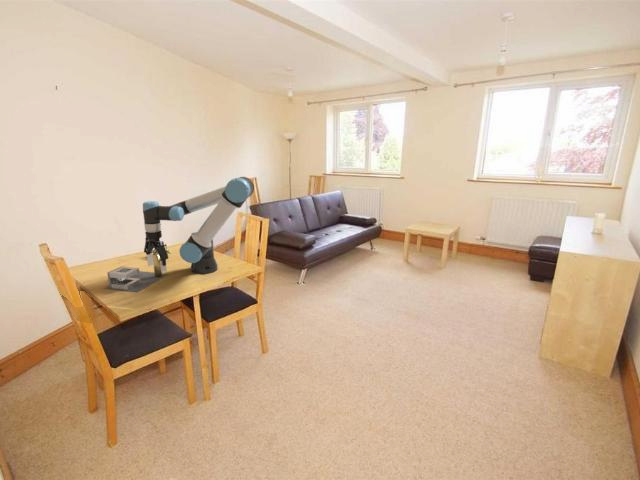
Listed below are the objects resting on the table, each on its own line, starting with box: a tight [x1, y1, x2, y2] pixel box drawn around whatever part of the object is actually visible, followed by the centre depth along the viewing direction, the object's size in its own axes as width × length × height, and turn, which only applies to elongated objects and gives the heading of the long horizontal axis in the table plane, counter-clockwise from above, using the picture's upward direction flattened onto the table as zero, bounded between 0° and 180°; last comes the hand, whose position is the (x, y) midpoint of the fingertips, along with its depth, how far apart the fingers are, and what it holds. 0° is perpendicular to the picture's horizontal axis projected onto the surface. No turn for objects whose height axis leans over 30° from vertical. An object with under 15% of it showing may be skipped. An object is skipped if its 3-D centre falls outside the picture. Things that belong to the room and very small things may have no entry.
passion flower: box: [151, 243, 172, 256], centre depth 204 cm, size 11×11×12 cm
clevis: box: [107, 266, 141, 290], centre depth 157 cm, size 10×9×8 cm
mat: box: [103, 270, 170, 293], centre depth 165 cm, size 19×25×1 cm
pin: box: [151, 253, 162, 278], centre depth 170 cm, size 4×4×13 cm
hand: (157, 268), depth 170 cm, fingers open, 13 cm apart
